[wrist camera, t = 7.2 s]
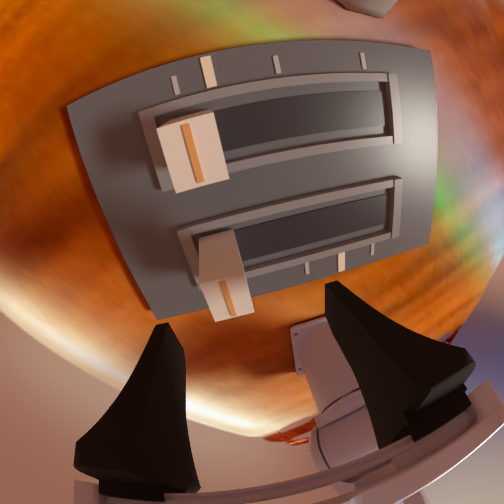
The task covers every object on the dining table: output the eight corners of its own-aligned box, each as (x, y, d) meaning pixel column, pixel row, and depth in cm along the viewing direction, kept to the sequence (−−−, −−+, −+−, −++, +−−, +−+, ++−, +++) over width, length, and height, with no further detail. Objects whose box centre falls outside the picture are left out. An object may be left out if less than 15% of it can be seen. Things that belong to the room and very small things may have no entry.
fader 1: (221, 156, 16) (229, 179, 11) (183, 166, 16) (175, 194, 11) (210, 108, 14) (213, 112, 10) (170, 120, 14) (155, 128, 10)
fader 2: (242, 264, 20) (255, 313, 16) (210, 272, 20) (215, 323, 16) (233, 229, 18) (244, 273, 14) (198, 238, 18) (199, 285, 14)
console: (421, 237, 24) (431, 246, 22) (158, 310, 23) (156, 324, 21) (420, 50, 14) (435, 50, 13) (74, 104, 13) (62, 106, 12)
